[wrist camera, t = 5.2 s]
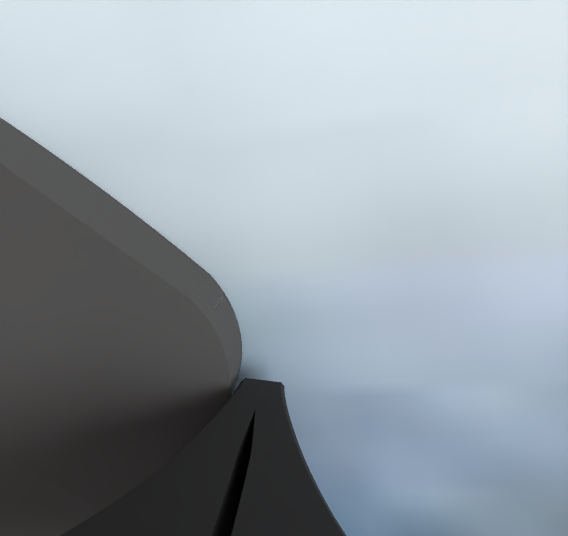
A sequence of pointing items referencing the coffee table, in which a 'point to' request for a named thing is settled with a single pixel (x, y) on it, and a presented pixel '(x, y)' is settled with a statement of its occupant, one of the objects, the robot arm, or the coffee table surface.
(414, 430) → the coffee table surface
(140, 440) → the media streaming box
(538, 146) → the coffee table surface
